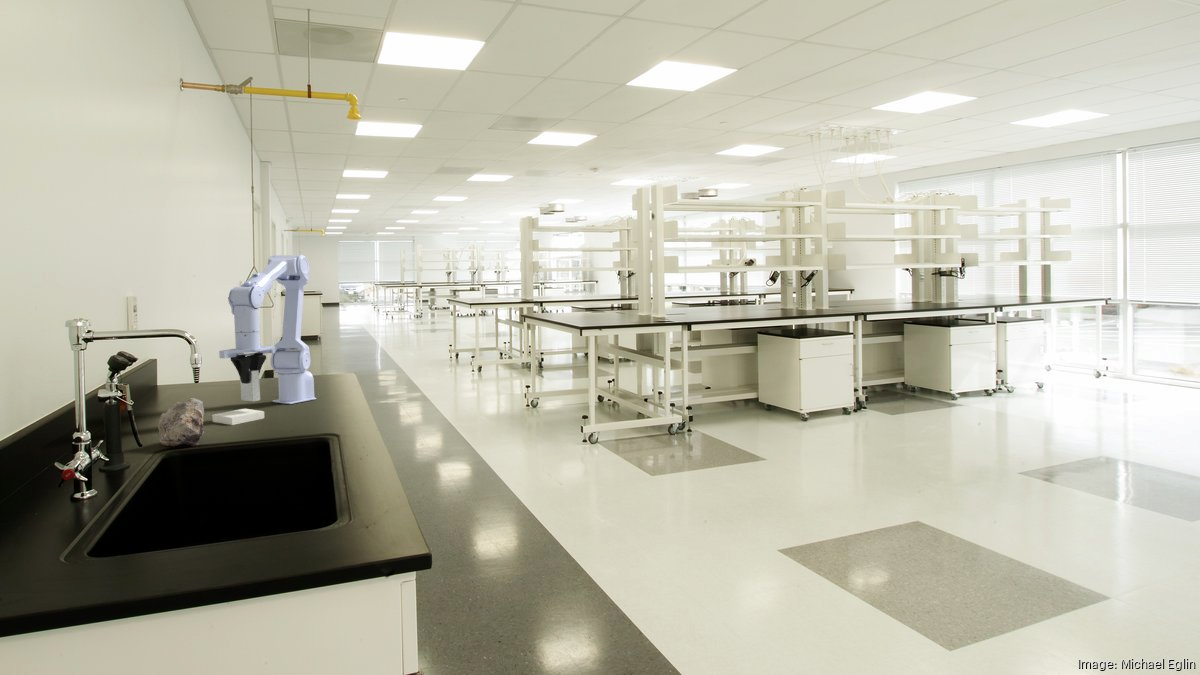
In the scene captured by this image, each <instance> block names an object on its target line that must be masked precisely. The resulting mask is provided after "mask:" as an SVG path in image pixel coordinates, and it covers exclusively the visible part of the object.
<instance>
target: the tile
mask: <svg viewBox="0 0 1200 675" xmlns="http://www.w3.org/2000/svg"><path fill="white" fill-rule="evenodd" d="M211 416H212V423H217V424H225V425H231V426H234V425H239V424H242V423H248V422H253V421H257V420H258V421H259V420H263V419H265V411H263V410H257V409H251V408H250V409H249V408H239V409H235V410H230V411H229V410H228V411H226V412H219V413H215V414H212V415H211Z"/></svg>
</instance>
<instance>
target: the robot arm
mask: <svg viewBox="0 0 1200 675" xmlns="http://www.w3.org/2000/svg"><path fill="white" fill-rule="evenodd" d="M309 279H310V263H309V261H308V259H307V257H306V256H305V255H304V254H298V255H294V254H293V255H287V254H286V255H279V254H278V255H277V254H272V255H270V257H268V259H267V265H266V267H265V268H264V269H263V270H262V272H253V273H252V275H251V277H249V278H248V279H247V280H245V281H244V282H243V283H242V284H241V285H240V286H234V287H233V288H231V289H230V291H229V293H228V297H227V300H228V304H229V306H230V309H231V313H232V315H233V316H234V317H233V319H234V320H233V321H234V335H235V337H234V338H235V342H234V343H235V348H229V349H223V350H222V349H221V350H219V351H218V352H219V359H229V358H230V361H231V362H232V365H233V366H234V367H235V369H236V372H238V373H237V374H238V376H239V380H240V379H241V382H242V383H245V384H247V383H249V370H259V375H260V374H261V370H262V367H263V364H264V363H265V361H266V360H267V354H271V355H270V366H271V368H272V370H274V371H275V373H276V374H277V376H278V377H277V380H278V383H277V384H278V399H273V400H272V403H280V404H286V405H292V404H297V403H302V402H308V401H314V400H317V397H315V380H314V376H313V374H312V372H310V371H309V370H308V369H309V368H310V366H311V363H312V362H311V359H312V358H311V353H310V347H309V345H308V344H306V343H305V342H304V341H303V340H301V338H302V336H301V335H302V324H303V323H302V321H303V308H304V292H305V286H306V285H307V284H308V283H309ZM274 281H276V282H277V283H278V284H279V285H282V286H284V288H285V292H284V309H283V322H282V324H283V325H282V335H281V339H280V341H278V342H277V343H276V344H274V345H265V346H263V345H262V346H261V338H260V337H261V336H260V316H259V314H260V313H259V308H260V307H262V305H263V301H264V299H265V296H266V295H267V293H269V292H270V291H271V289H272V288H273V282H274Z"/></svg>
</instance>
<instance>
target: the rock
mask: <svg viewBox="0 0 1200 675" xmlns="http://www.w3.org/2000/svg"><path fill="white" fill-rule="evenodd" d="M204 415H205V408H204V402H203V401H202V400H200V399H198V398H195V397H192V398H191V397H190V398H189V399H188V400H187V402H185V401H183V402H180V401H177V402H175V403H174V404H173V405H172V406H171V407H169V408H168V409H167V411H166V412H163V413H161V415H160V417H159V419H158V420H159V421H158V426H157V427H158V435H159V436H158V438H159V442H160V444H161V445H162V446H163V445H164V446H167V447H168V446H169V447H170V446H172V447H175V446H176V447H177V446H181V445H188V446H198V445H199V444H200V442H199V441H200V438H202V436H203V435H204V432H205V431H204V430H205V425H204Z"/></svg>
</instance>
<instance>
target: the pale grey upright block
mask: <svg viewBox="0 0 1200 675" xmlns="http://www.w3.org/2000/svg"><path fill="white" fill-rule="evenodd" d="M239 382H240V383H239V384H240V387H239V388H240V398H241V401H245V402H247V401H249V402H257V401H261V388H260V386H261V385H260V374H259V370H249V383H247V384H245V383H242V382H241V379H240V378H239Z"/></svg>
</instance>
